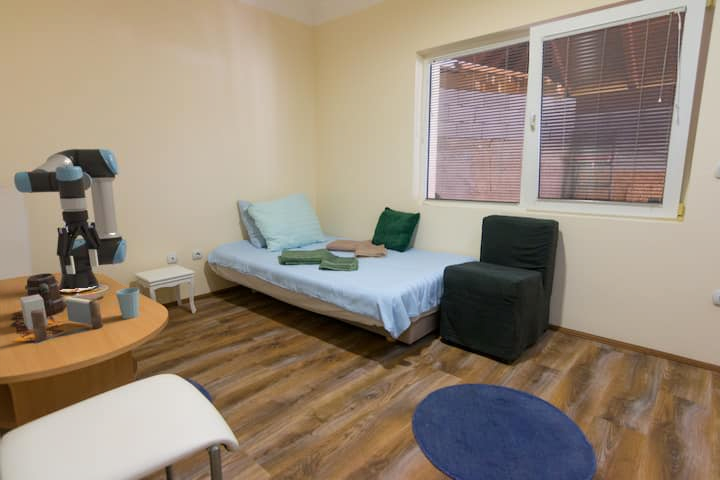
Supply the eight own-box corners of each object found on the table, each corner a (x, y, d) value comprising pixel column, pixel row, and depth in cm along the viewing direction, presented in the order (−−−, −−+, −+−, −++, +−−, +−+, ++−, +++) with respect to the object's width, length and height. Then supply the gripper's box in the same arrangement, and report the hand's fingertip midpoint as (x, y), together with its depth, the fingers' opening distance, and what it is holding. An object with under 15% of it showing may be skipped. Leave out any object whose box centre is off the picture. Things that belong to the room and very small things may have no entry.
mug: (25, 312, 155) (19, 276, 152) (63, 304, 164) (57, 270, 161) (30, 323, 144) (23, 284, 141) (70, 314, 153) (64, 278, 150)
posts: (102, 325, 143) (98, 299, 141) (102, 327, 140) (99, 301, 138) (36, 338, 132) (31, 310, 130) (35, 341, 129) (30, 313, 127)
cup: (140, 318, 149) (137, 292, 147) (117, 321, 146) (114, 295, 144) (142, 311, 156) (139, 286, 154) (120, 314, 153) (117, 289, 151)
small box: (48, 325, 142) (43, 298, 140) (28, 330, 138) (23, 302, 136) (43, 320, 147) (39, 293, 145) (24, 324, 143) (19, 297, 141)
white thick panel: (95, 323, 142) (92, 300, 140) (91, 325, 140) (87, 302, 139) (72, 319, 145) (68, 297, 144) (67, 320, 144) (64, 298, 142)
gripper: (90, 206, 151) (98, 261, 155) (36, 213, 129) (46, 278, 134) (108, 206, 150) (115, 262, 154) (55, 214, 128) (65, 279, 133)
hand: (83, 269), depth 144 cm, fingers open, 10 cm apart
